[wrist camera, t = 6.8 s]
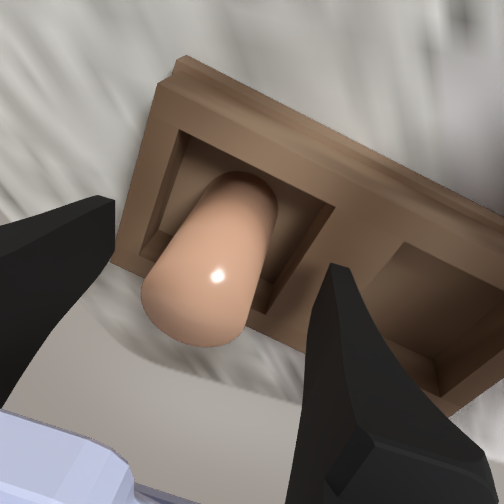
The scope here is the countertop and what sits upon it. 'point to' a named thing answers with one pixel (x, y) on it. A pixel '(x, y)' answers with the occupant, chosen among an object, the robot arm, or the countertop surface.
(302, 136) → the rack
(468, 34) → the countertop surface
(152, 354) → the countertop surface
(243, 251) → the clay rod
